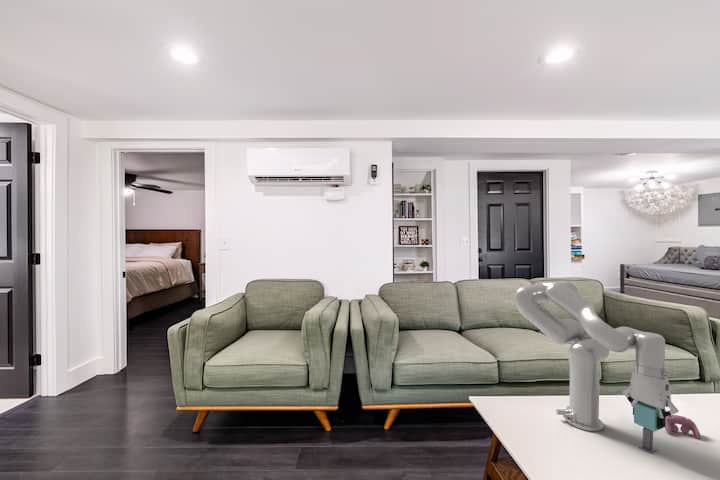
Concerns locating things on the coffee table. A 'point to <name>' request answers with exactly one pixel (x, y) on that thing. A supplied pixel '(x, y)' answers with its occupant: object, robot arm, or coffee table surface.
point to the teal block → (645, 416)
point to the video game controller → (685, 422)
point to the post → (647, 441)
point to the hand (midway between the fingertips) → (648, 422)
